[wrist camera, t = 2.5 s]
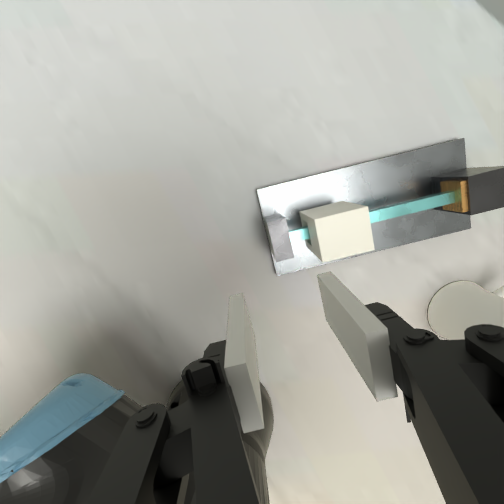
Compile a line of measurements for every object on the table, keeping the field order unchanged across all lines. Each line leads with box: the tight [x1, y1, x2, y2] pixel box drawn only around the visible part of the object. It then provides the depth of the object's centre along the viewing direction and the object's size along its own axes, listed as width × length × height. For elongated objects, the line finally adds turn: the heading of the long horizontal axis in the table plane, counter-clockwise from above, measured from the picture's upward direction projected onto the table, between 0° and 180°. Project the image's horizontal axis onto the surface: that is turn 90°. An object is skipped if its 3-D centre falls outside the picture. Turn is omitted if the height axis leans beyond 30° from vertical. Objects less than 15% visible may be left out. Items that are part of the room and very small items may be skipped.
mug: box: [428, 281, 504, 340], centre depth 36 cm, size 12×8×12 cm
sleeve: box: [299, 201, 375, 263], centre depth 32 cm, size 5×4×7 cm
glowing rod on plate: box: [257, 138, 504, 276], centre depth 35 cm, size 25×11×7 cm, turn 104°
